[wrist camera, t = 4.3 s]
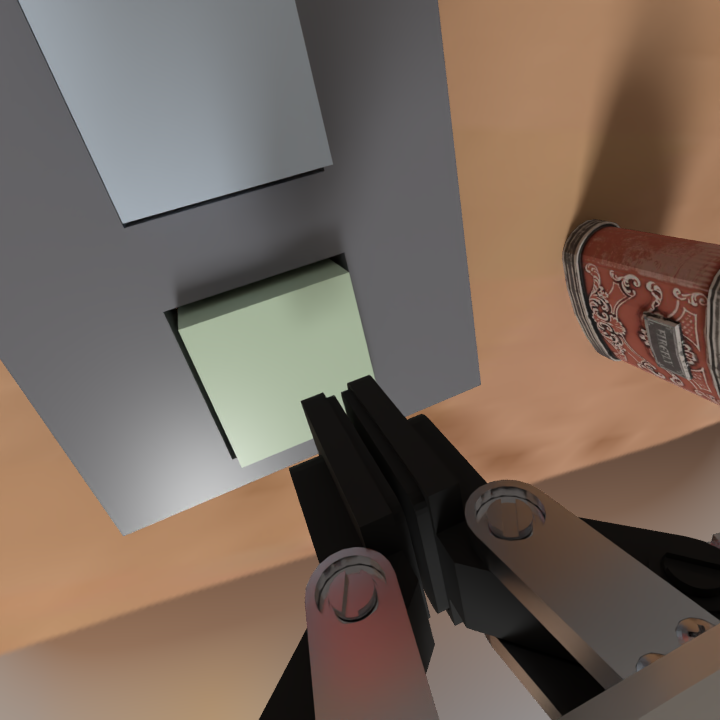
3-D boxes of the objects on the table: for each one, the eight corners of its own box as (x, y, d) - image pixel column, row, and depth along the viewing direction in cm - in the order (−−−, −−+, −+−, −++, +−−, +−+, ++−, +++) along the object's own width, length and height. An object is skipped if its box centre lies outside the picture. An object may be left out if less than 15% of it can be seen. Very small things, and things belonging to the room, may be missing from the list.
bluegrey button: (245, -46, 12) (268, -113, 9) (300, 162, 14) (333, 164, 11) (36, -11, 11) (-16, -72, 8) (134, 207, 13) (123, 224, 10)
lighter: (549, 248, 21) (815, 317, 12) (606, 202, 21) (910, 237, 12) (595, 367, 25) (816, 481, 16) (642, 328, 25) (887, 420, 16)
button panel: (289, -640, 9) (332, -935, 7) (443, 356, 21) (481, 384, 18) (-643, -748, 6) (-1180, -1339, 4) (130, 481, 18) (123, 536, 15)
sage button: (317, 250, 16) (349, 272, 13) (349, 369, 19) (382, 409, 16) (177, 296, 15) (178, 330, 12) (230, 415, 18) (241, 467, 15)
